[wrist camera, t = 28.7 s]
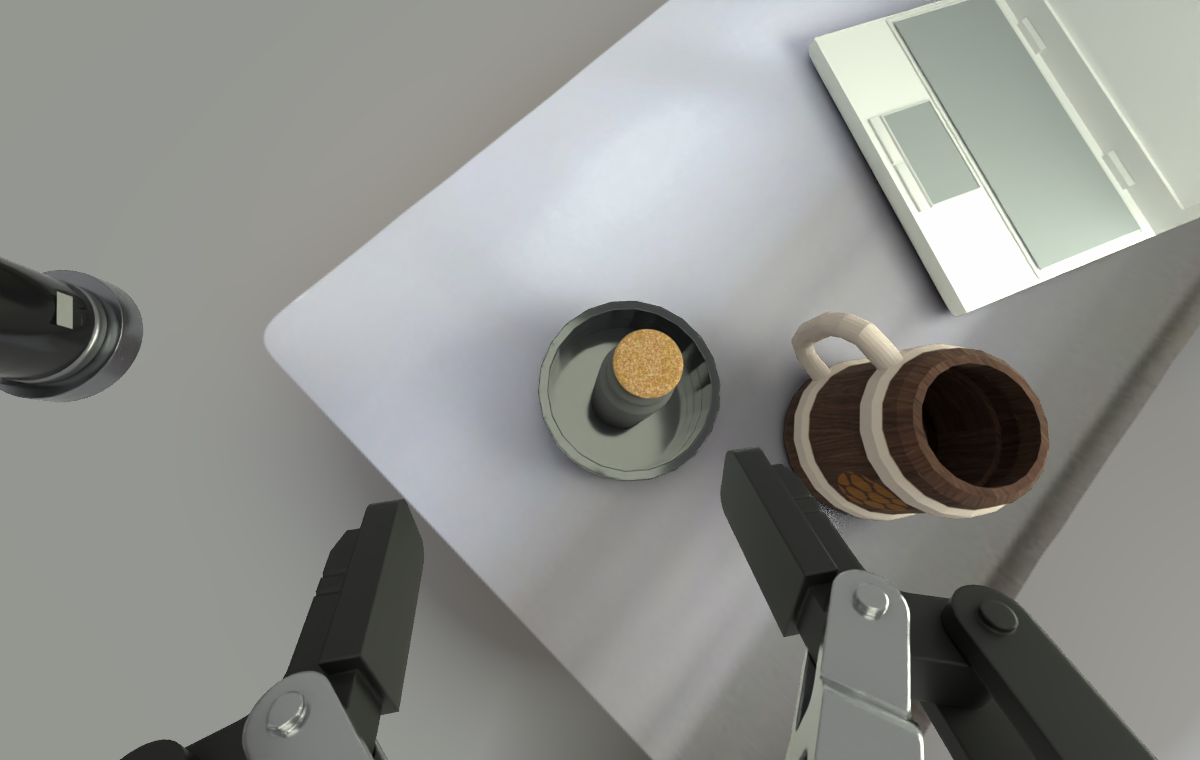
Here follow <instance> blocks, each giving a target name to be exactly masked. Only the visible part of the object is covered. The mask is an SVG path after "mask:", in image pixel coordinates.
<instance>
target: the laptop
mask: <svg viewBox="0 0 1200 760" xmlns="http://www.w3.org/2000/svg"><path fill="white" fill-rule="evenodd" d="M809 54H810V57H811V59H812V62H813V64H814V66H815V68H816V70H817V71H818V73H819V75H820V77H821V79H822V81H823V82H824V84H825V86H826V88H827V90H828V91H829V93H830V95H831V97H832V99H833V101H834V102H835V104H836V106H837V108H838V110H839V111H840V113H841V115H842V117H843V119H844V121H845V122H846V124H847V126H848V128H849V130H850V131H851V133H852V135H853V137H854V139H855V141H856V142H857V144H858V146H859V148H860V150H861V151H862V153H863V155H864V157H865V159H866V161H867V162H868V164H869V166H870V168H871V170H872V171H873V173H874V175H875V177H876V179H877V181H878V182H879V184H880V186H881V188H882V190H883V191H884V193H885V195H886V197H887V199H888V201H889V202H890V204H891V206H892V208H893V210H894V211H895V213H896V215H897V217H898V219H899V221H900V222H901V224H902V226H903V228H904V230H905V231H906V233H907V235H908V237H909V239H910V241H911V242H912V244H913V246H914V248H915V250H916V251H917V253H918V255H919V257H920V259H921V261H922V262H923V264H924V266H925V268H926V270H927V271H928V273H929V275H930V277H931V279H932V281H933V282H934V284H935V286H936V288H937V290H938V291H939V293H940V295H941V297H942V299H943V301H944V302H945V304H946V306H947V308H948V309H949V310H950V312H951V313H952V314H953V316H960V315H962V314H965V313H967V312H970V311H972V310H975V309H977V308H980V307H982V306H984V305H987V304H989V303H992V302H994V301H997V300H999V299H1001V298H1004V297H1006V296H1009V295H1011V294H1014V293H1016V292H1019V291H1021V290H1023V289H1026V288H1028V287H1031V286H1033V285H1036V284H1038V283H1040V282H1043V281H1045V280H1048V279H1050V278H1053V277H1055V276H1057V275H1060V274H1062V273H1065V272H1067V271H1070V270H1072V269H1074V268H1077V267H1079V266H1082V265H1084V264H1087V263H1089V262H1091V261H1094V260H1096V259H1099V258H1101V257H1104V256H1106V255H1108V254H1111V253H1113V252H1116V251H1118V250H1121V249H1123V248H1125V247H1128V246H1130V245H1133V244H1135V243H1138V242H1140V241H1143V240H1145V239H1147V238H1150V237H1152V236H1155V235H1157V234H1160V233H1162V232H1165V231H1167V230H1169V229H1172V228H1174V227H1177V226H1179V225H1182V224H1184V223H1187V222H1189V221H1192V220H1194V219H1197V218H1199V217H1200V0H941V1H938V2H934V3H931V4H927V5H924V6H921V7H917V8H914V9H910V10H907V11H904V12H900V13H897V14H893V15H890V16H887V17H883V18H880V19H876V20H873V21H870V22H866V23H863V24H859V25H856V26H853V27H849V28H846V29H842V30H839V31H836V32H832V33H829V34H825V35H822V36H819V37H815V38H814V39H813V41H812V42H811V44H810V46H809Z"/></svg>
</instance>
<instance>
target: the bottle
mask: <svg viewBox="0 0 1200 760" xmlns="http://www.w3.org/2000/svg"><path fill="white" fill-rule="evenodd" d="M682 372H683V359H682V354H681V352H680V350H679V348H678V346H677V345H676V343H675V342H674V341H673V340H672V339H671V338H670V337H669V336H667V335H666V334H664V333H662V332H659V331H657V330H652V329H642V330H637V331H634V332H632V333H630V334H628V335H627V336H625V337H624V338H623V339H622V340H621V341H620V342H619V343H618V344H617V345H616V346H615V347H614V348H613V349H612V350H610V352H609V353H608V354H607V355H606V357H605V358H604V360H603V362H602V364H601V367H600V370H599V372H598V375H597V378H596V382H595V385H594V388H593V393H592V403H593V407H594V409H595V412H596V413H597V415H598V416H599V417H600V419H601V420H602V421H604V422H605V423H607V424H608V425H610V426H613V427H617V428H627V427H632V426H634V425H636V424H638V423H640V422H642V421H643V420H645V419H646V418H648V417H649V416H650V415H652V414H653V413H655V412H656V411H658V410H659V409H660V408H661V407H663V406H664V405H665V404H666V403H667V401H668V400H669V399H670V397H671V395H672V393H673V391H674V389H675V387H676V385H677V384H678V382H679V381H680V378H681V375H682Z"/></svg>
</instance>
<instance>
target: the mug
mask: <svg viewBox="0 0 1200 760" xmlns="http://www.w3.org/2000/svg"><path fill="white" fill-rule="evenodd" d="M829 336H834V337H840V338H843V339H845V340H847V341H849V342H851V343H853V344H855V345H856V346H857V347H858V348H859V349H860V350H861V351H862V353H863V354H864V355H865V356H866V357H867V358H865V359H857V360H852V361H846V362H841V363H837V364H835V365H833V366H832V367H830V368H828V366H827V365H826V364H825V363H824V362H823V361H822V360H821V359H820V357H819V356H818V355H817V353H816V352H815V350H814V343H815V342H817V341H819V340H822V339H824V338H827V337H829ZM792 345H793V348H794V351H795V354H796V357H797V359H798V361H799V362H800V364H801V365H802V366H803V368H804V369H805V371H806V372H807V373H808V375H809V376H810V378H811V379H809V380H808V381H806V383H805V384H804V385H803V386H802V387H801V389H800V390H799V391H798V392H797V393H796V394H795V396H794V397H793V399H792V402H791V404H790V407H789V410H788V412H787V415H786V418H785V439H784V442H785V446H786V449H787V453H788V457H789V461H790V464H791V466H792V468H793V470H794V471H795V473H796V475H797V476H798V477H800V479H801V480H802V482H803V483H804V484H805V486H806V487H807V489H808V490H809V492H810V493H812V494H813V495H814V496H815V497H816V498H817V499H818V500H819V501H820V502H821V503H823V504H825V505H827V506H829V507H831V508H834V509H836V510H838V511H840V512H842V513H844V514H852V515H854V516H856V517H858V518H864V519H872V520H880V521H887V520H892V519H897V518H901V517H906V516H910V515H915V514H916V513H928V514H930V515H934V516H942V517H950V518H967V517H973V516H978V515H982V514H986V513H991V512H995V511H997V510H998V509H1000V508H1001V507H1003V506H1004V505H1005V504H1009V503H1012V502H1014V501H1015V500H1017V499H1018V498H1020V497H1021V496H1023V495H1024V494H1026V493H1027V492H1028V491H1030V490H1031V489H1032V487H1033V486H1034V484H1035V483H1036V481H1037V480H1038V478H1039V477H1040V475H1041V474H1042V472H1043V471H1044V467H1045V463H1046V459H1047V455H1048V451H1049V438H1048V425H1047V420H1046V417H1045V415H1044V412H1043V409H1042V406H1041V404H1040V401H1039V399H1038V397H1037V396H1036V395H1035V393H1034V392H1033V390H1032V389H1031V387H1030V386H1029V385H1028V383H1027V382H1026V380H1025V379H1024V378H1023V377H1022V376H1021V375H1020V374H1019V373H1018V372H1016V371H1015V370H1014V369H1013V368H1012V367H1010V366H1009V365H1008V364H1007V363H1006V362H1004V361H1003V360H1001V359H998V358H996V357H994V356H992V355H990V354H988V353H985V352H983V351H980V350H973V349H966V348H964V347H958V346H951V345H944V344H934V345H926V346H921V347H915V348H910V349H904V350H902V351H901V352H899V351H898V350H897V349H896V347H895V346H894V345H893V344H892V343H891V342H890V341H889V340H888V339H887V338H886V337H885V336H884V335H883V334H882V333H881V332H880V330H879V329H878V328H877V327H876V326H875V325H874V324H873V323H870V322H868V321H866V320H864V319H861V318H859V317H857V316H854V315H852V314H845V313H835V312H826V313H823V314H821V315H819V316H817V317H815V318H813V319H811V320H809V321H807V322H805V323H803V324H802V325H801V326H800V327H799V328H798V330H797V331H796V333H795V335H794V336H793V338H792Z"/></svg>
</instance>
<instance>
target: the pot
mask: <svg viewBox="0 0 1200 760" xmlns="http://www.w3.org/2000/svg"><path fill="white" fill-rule="evenodd" d="M642 329H652V330H657V331H659V332H662V333H664V334H666V335H667V336H669V337H670V338H671V339H672V340H673V341H674V342H675V343H676V345H677V346H678V348H679V350H680V352H681V354H682V359H683V372H682V375H681V378H680V381H679V382H678V384H677V385H676V387H675V389H674V391H673V393H672V395H671V397H670V399H669V400H668V401H667V403H666V404H665V405H664V406H663V407H661V408H660V409H659V410H658V411H656V412H655V413H653V414H652V415H650V416H649V417H648V418H646V419H645V420H643V421H642V422H640V423H638V424H636V425H634V426H632V427H627V428H617V427H613V426H610V425H608V424H607V423H605V422H604V421H602V420H601V419H600V417H599V416H598V415H597V413H596V412H595V409H594V407H593V403H592V393H593V388H594V385H595V382H596V378H597V375H598V372H599V370H600V367H601V364H602V362H603V360H604V358H605V357H606V355H607V354H608V353H609V352H610V350H612V349H613V348H614V347H615V346H616V345H617V344H618V343H619V342H620V341H621V340H622V339H623V338H624V337H625V336H627V335H628V334H630V333H632V332H634V331H637V330H642ZM538 394H539V399H540V404H541V409H542V415H543V419H544V421H545V424H546V426H547V428H548V430H549V432H550V434H551V436H552V438H553V440H554V442H555V444H556V445H557V447H558V448H559V449H560V450H561V451H562V452H563V453H564V454H565V455H566V456H567V457H568V458H569V459H570V460H571V461H572V462H573V463H574V464H576V465H578V466H579V467H581V468H583V469H585V470H586V471H588V472H590V473H592V474H594V475H597V476H601V477H606V478H610V479H614V480H621V481H633V480H647V479H653V478H656V477H658V476H661V475H664V474H666V473H669V472H672V471H674V470H676V469H678V468H679V467H680V466H682V465H683V464H684V463H685V462H687V461H688V460H689V459H690V458H692V457H693V456H694V455H696V453H697V452H698V451H699V450H700V448H701V447H702V445H703V444H704V442H705V441H706V440H707V438H708V437H709V435H710V434H711V432H712V429H713V426H714V423H715V420H716V417H717V414H718V411H719V405H720V381H719V377H718V373H717V369H716V365H715V362H714V358H713V356H712V355H711V353H710V351H709V349H708V348H707V346H706V344H705V343H704V341H703V339H702V338H701V337H700V335H699V334H698V333H697V332H696V331H695V330H694V329H692V328H691V327H690V326H689V325H688V324H687V323H686V322H685V321H684V320H683V319H682V318H680V317H678V316H677V315H675V314H673V313H671V312H669V311H668V310H666V309H664V308H662V307H659V306H655V305H651V304H647V303H642V302H638V301H619V302H609V303H606V304H603V305H600V306H597V307H594V308H591V309H588V310H586V311H585V312H583V313H582V314H580V315H579V316H577V317H576V318H574V319H573V320H571V321H570V322H568V323H567V324H566V325H565V326H564V328H563V329H562V330H561V331H560V332H559V334H558V335H557V336H556V337H555V338H554V340H553V341H552V342H551V344H550V346H549V349H548V351H547V353H546V356H545V358H544V360H543V363H542V365H541V371H540V380H539V390H538Z"/></svg>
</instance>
